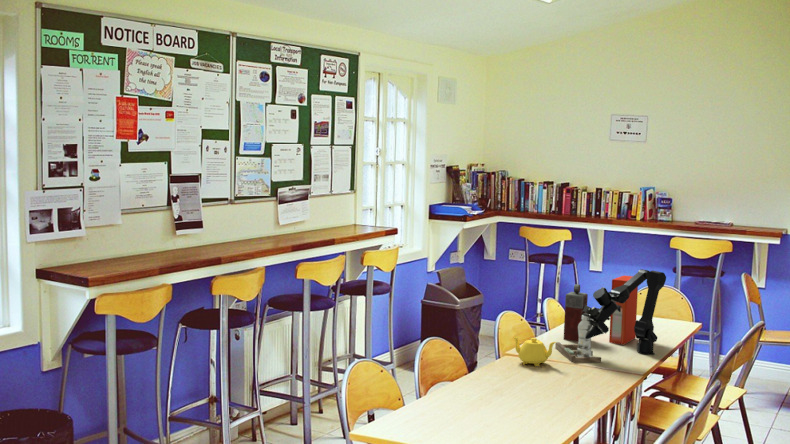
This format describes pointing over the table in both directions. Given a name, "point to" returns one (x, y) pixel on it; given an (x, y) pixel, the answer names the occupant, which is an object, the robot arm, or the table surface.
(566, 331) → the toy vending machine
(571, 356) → the comb rack
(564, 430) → the table surface
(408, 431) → the table surface
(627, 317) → the file binder
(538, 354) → the teapot
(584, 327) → the plastic bottle
